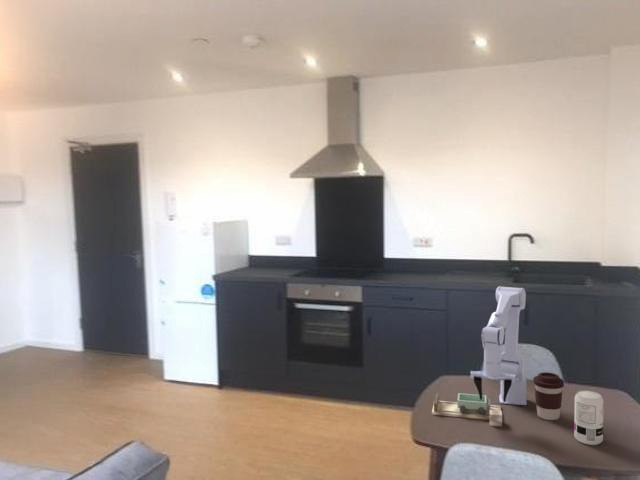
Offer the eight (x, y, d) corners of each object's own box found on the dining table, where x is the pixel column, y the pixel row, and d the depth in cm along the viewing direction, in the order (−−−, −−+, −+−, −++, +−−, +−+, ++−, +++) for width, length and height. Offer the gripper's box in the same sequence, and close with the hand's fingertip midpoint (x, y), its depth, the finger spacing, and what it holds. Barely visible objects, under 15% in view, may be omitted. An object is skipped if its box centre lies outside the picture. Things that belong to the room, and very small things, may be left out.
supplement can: (568, 435, 171) (569, 390, 170) (592, 433, 172) (593, 389, 171) (583, 446, 163) (584, 400, 162) (608, 445, 164) (609, 398, 163)
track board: (500, 408, 194) (500, 397, 193) (501, 420, 183) (501, 409, 183) (434, 402, 201) (434, 392, 200) (431, 414, 190) (431, 403, 190)
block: (501, 421, 183) (501, 410, 182) (502, 426, 179) (502, 415, 179) (489, 420, 184) (489, 409, 184) (489, 425, 180) (489, 414, 180)
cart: (489, 404, 194) (489, 394, 194) (490, 414, 185) (490, 404, 185) (458, 401, 197) (458, 392, 197) (457, 411, 188) (457, 401, 188)
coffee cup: (550, 424, 179) (550, 382, 178) (527, 414, 188) (527, 373, 187) (569, 418, 184) (570, 376, 182) (546, 408, 192) (546, 368, 191)
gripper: (470, 363, 178) (470, 401, 179) (515, 366, 173) (515, 406, 175) (471, 357, 185) (471, 394, 186) (515, 360, 180) (514, 398, 181)
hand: (492, 399), depth 181 cm, fingers open, 7 cm apart
